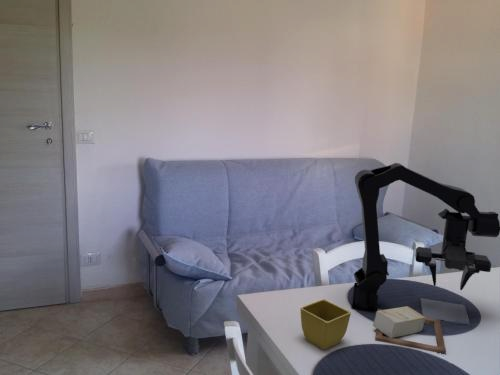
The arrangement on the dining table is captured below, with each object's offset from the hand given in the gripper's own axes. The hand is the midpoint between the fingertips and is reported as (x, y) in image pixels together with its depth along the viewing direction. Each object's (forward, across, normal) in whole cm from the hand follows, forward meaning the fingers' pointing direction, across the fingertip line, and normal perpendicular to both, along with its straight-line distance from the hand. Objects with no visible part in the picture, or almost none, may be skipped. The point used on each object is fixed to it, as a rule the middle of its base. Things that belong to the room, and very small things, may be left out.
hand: (447, 287), depth 124 cm
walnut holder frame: (+8, -10, -16) cm, 20 cm away
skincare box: (+6, -9, -12) cm, 15 cm away
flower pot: (+8, -30, -29) cm, 42 cm away
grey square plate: (+8, 0, 0) cm, 8 cm away
